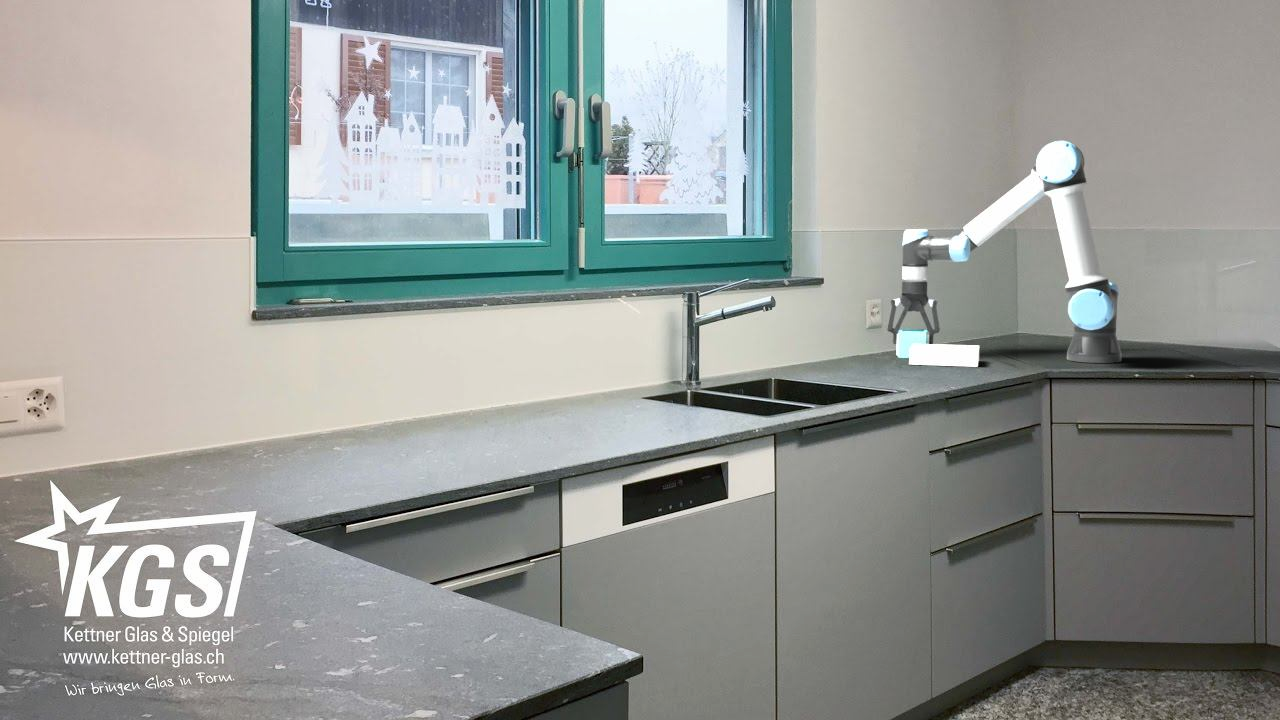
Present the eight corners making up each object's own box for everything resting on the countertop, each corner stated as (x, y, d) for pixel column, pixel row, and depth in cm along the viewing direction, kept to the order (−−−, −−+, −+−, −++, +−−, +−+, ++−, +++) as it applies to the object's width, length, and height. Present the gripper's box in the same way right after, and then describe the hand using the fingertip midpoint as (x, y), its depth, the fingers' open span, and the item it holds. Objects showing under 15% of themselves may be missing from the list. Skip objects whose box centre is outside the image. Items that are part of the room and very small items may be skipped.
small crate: (927, 355, 370) (927, 329, 369) (925, 358, 362) (926, 331, 361) (900, 354, 372) (901, 328, 371) (898, 357, 365) (898, 331, 364)
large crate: (978, 360, 356) (979, 345, 355) (977, 366, 343) (977, 350, 342) (912, 358, 361) (913, 343, 361) (909, 364, 348) (909, 348, 348)
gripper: (950, 280, 365) (948, 355, 368) (880, 279, 371) (879, 353, 374) (949, 281, 358) (947, 358, 361) (878, 280, 364) (876, 355, 367)
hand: (912, 355), depth 367 cm, fingers closed on small crate, 8 cm apart
